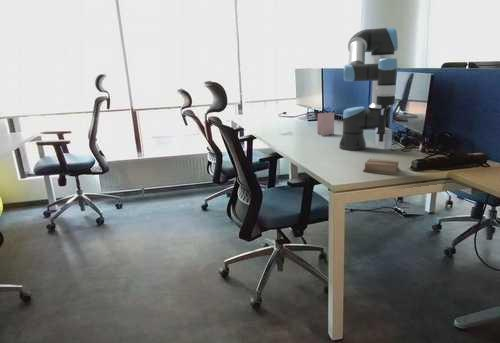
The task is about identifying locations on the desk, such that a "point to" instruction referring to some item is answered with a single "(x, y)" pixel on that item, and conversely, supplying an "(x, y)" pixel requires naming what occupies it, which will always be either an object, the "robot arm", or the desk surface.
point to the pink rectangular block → (325, 123)
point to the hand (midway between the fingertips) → (382, 146)
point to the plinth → (381, 166)
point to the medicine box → (387, 138)
